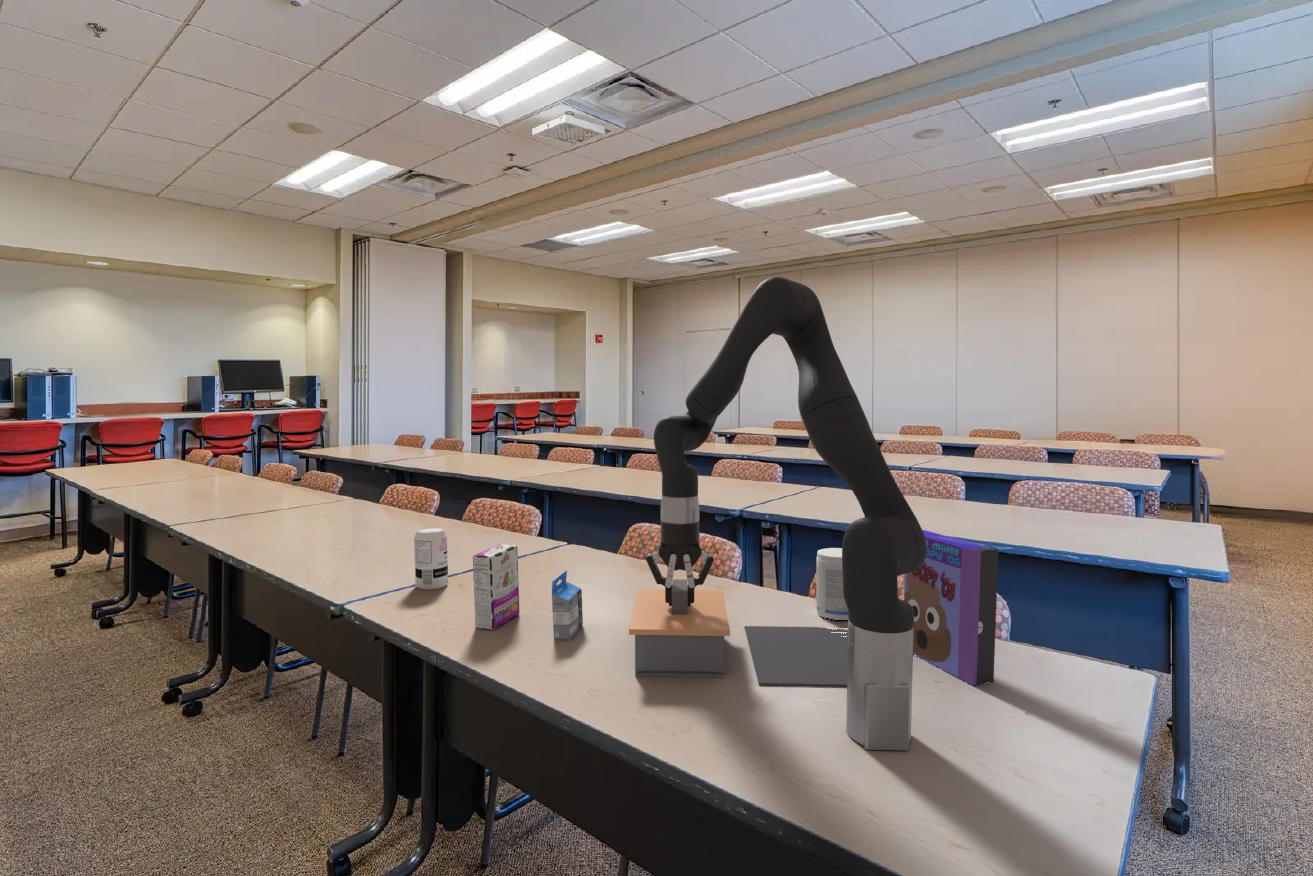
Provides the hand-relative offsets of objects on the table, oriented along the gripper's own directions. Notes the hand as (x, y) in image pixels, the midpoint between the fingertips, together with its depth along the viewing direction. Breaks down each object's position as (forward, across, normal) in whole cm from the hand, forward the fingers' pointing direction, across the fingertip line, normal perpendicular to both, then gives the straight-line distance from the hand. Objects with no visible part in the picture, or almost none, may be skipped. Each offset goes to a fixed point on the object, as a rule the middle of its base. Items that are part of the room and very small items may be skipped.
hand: (679, 604), depth 130 cm
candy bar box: (+10, -41, +16) cm, 45 cm away
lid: (+2, 0, 0) cm, 2 cm away
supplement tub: (+10, +36, +23) cm, 44 cm away
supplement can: (+10, -66, +42) cm, 79 cm away
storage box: (+10, 0, 0) cm, 10 cm away
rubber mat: (+10, +26, 0) cm, 28 cm away
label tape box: (+10, -24, +10) cm, 28 cm away
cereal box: (+10, +50, -4) cm, 51 cm away
